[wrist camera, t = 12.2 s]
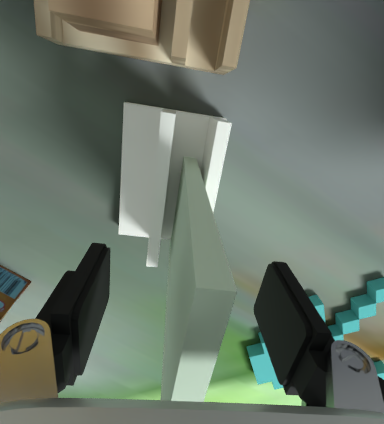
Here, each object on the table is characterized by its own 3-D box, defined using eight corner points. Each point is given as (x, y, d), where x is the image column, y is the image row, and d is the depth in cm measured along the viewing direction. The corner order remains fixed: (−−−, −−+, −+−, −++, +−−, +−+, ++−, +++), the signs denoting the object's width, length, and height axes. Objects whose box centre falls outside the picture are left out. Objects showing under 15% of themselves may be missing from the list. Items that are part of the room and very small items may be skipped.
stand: (223, 117, 24) (238, 124, 18) (200, 236, 29) (206, 271, 23) (127, 101, 23) (108, 103, 17) (121, 227, 28) (106, 262, 22)
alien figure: (381, 274, 33) (235, 312, 35) (394, 286, 31) (239, 325, 33) (378, 366, 41) (261, 393, 43) (389, 379, 39) (265, 408, 41)
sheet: (196, 158, 24) (237, 291, 7) (180, 247, 28) (183, 466, 11) (183, 156, 23) (196, 287, 7) (169, 246, 27) (157, 465, 11)
